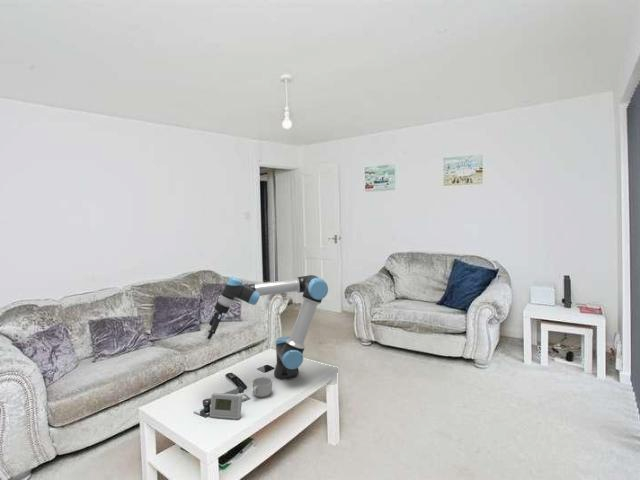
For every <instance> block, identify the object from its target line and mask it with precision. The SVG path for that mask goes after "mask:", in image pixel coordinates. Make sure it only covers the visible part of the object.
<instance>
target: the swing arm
mask: <svg viewBox="0 0 640 480" xmlns="http://www.w3.org/2000/svg"><path fill="white" fill-rule="evenodd" d="M244 392H245V389H244V387H243V386H238V387H236V388H234V389H232V390H229V391H226V392H224V393H228V394H237V395H242V394H243V393H244ZM202 406H203V407H204V406H205V407H206V406H211V397H210V398H205V399H203V400H202Z"/></svg>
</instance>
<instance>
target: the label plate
mask: <svg viewBox="0 0 640 480" xmlns="http://www.w3.org/2000/svg"><path fill="white" fill-rule="evenodd" d="M241 395H242V403H243V402H246V401H249V400H251V397H250V396H249V395H247V394H246V393H244V394H243V393H242V394H241Z"/></svg>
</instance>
